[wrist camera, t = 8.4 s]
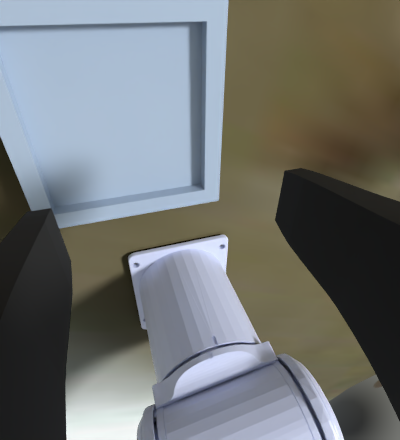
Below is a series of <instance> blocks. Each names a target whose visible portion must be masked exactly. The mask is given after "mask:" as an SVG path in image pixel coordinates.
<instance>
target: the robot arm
mask: <svg viewBox="0 0 400 440" xmlns="http://www.w3.org/2000/svg"><path fill="white" fill-rule="evenodd" d="M275 221H276V223H277V225H278V226H279V228H280V230H281V232H282V234H283V236H284V237H285V239H286V241H287V242H288V244H289V245H290V247H291V248H292V249H293V251H294V252H295V253H296V254H297V256H298V257H299V258H300V260H301V261H302V262H303V264H304V265H305V266H306V267H307V269H308V270H309V271H310V272H311V274H312V275H313V276H314V277H315V279H316V280H317V281H318V283H319V284H320V285H321V286H322V288H323V289H324V290H325V291H326V293H327V294H328V295H329V297H330V298H331V300H332V301H333V302H334V304H335V305H336V307H337V308H338V310H339V312H340V313H341V315H342V316H343V318H344V319H345V321H346V323H347V324H348V326H349V327H350V329H351V331H352V332H353V334H354V336H355V337H356V339H357V341H358V343H359V344H360V346H361V348H362V350H363V351H364V353H365V355H366V356H367V358H368V360H369V362H370V364H371V366H372V367H373V369H374V371H375V373H376V375H377V377H378V379H379V381H380V382H381V384H382V386H383V388H384V390H385V392H386V393H387V396H388V398H389V400H390V402H391V404H392V406H393V408H394V410H395V412H396V414H397V416H398V419H399V421H400V202H399V201H396V200H393V199H390V198H386V197H383V196H381V195H378V194H375V193H372V192H369V191H366V190H364V189H361V188H358V187H355V186H353V185H350V184H347V183H345V182H342V181H339V180H336V179H334V178H331V177H328V176H325V175H322V174H320V173H317V172H313V171H310V170H306V169H302V168H299V169H293V170H287V171H285V172H284V177H283V182H282V187H281V193H280V198H279V203H278V208H277V213H276V218H275ZM222 244H223V245H222ZM220 245H222V246H220ZM227 250H228V238H227V237H226V235H218V236H213V237H208V238H203V239H199V240H194V241H189V242H184V243H179V244H174V245H169V246H164V247H160V248H155V249H150V250H145V251H140V252H135V253H132V254H130V255H129V256H128V262H129V267H130V272H131V277H132V282H133V287H134V292H135V297H136V302H137V307H138V312H139V317H140V322H141V327H142V329H147V332H148V338H149V343H150V348H151V353H152V358H153V363H154V369H155V374H156V379H157V384H155V385H153V386H152V389H153V395H154V400H155V404H154V405H151V406H148V407H147V408H146V409H145V410H144V413H143V417H142V419H141V421H140V423H139V425H138V430H137V440H344V439H343V435H342V432H341V429H340V427H339V424H338V422H337V419H336V417H335V415H334V413H333V410H332V408H331V406H330V404H329V402H328V400H327V399H326V397H325V395H324V393H323V391H322V390H321V388H320V386H319V385H318V383H317V382H316V380H315V379H314V377H313V376H312V375H311V373H310V372H309V371H308V370H307V368H306V367H305V366H304V365H303V364H302V363H300V362H299V361H297V360H295V359H293V358H292V357H291V356H289V355H287V354H280V355H277V356H276V355H275V353H274V351H273V349H272V347H271V345H270V343H269V342H268V341H267V342H264V343H261V342H260V340H259V338H258V336H257V334H256V332H255V330H254V328H253V326H252V324H251V322H250V320H249V318H248V316H247V314H246V313H245V311H244V309H243V307H242V305H241V303H240V301H239V299H238V297H237V295H236V293H235V291H234V289H233V287H232V285H231V283H230V281H229V279H228V277H227V275H226V262H227ZM134 263H138V264H134ZM71 304H72V271H71V260H70V257H69V255H68V252H67V249H66V246H65V244H64V241H63V238H62V236H61V233H60V230H59V227H58V225H57V222H56V219H55V216H54V214H53V211H52V208H48V209H42V210H35V211H29V212H27V213H26V214H25V215H24V216H23V217H22V218H21V219H20V220H19V222H18V223H17V224H16V225H15V226H14V227H13V229H12V230H11V231H10V232H9V233H8V235H7V236H6V237H5V238H4V239H3V240H2V242H1V243H0V440H66V402H65V378H66V361H67V350H68V339H69V328H70V316H71Z"/></svg>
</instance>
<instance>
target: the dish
mask: <svg viewBox="0 0 400 440" xmlns="http://www.w3.org/2000/svg"><path fill="white" fill-rule="evenodd" d="M227 17H228V0H0V137H1V139H2V141H3V144H4V146H5V149H6V151H7V153H8V156H9V158H10V161H11V163H12V165H13V168H14V170H15V173H16V175H17V177H18V180H19V182H20V185H21V187H22V189H23V192H24V194H25V197H26V199H27V201H28V204H29V206H30V209H31V211H35V210H42V209H48V208H52V211H53V214H54V216H55V219H56V222H57V225H58V227H59V228H64V227H70V226H76V225H82V224H87V223H93V222H99V221H104V220H110V219H116V218H121V217H127V216H133V215H139V214H144V213H150V212H156V211H161V210H167V209H173V208H179V207H184V206H190V205H196V204H201V203H207V202H213V201H219V183H220V162H221V142H222V121H223V100H224V79H225V59H226V38H227Z"/></svg>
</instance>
